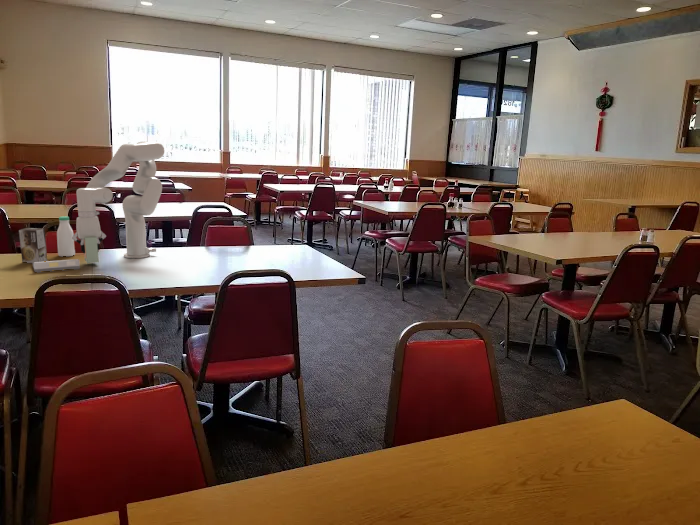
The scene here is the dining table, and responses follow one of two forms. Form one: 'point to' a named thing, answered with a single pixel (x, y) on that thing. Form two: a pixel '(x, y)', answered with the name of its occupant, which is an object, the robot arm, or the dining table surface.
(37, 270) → the shelf board
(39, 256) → the coffee box
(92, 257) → the box
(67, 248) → the milk bottle
